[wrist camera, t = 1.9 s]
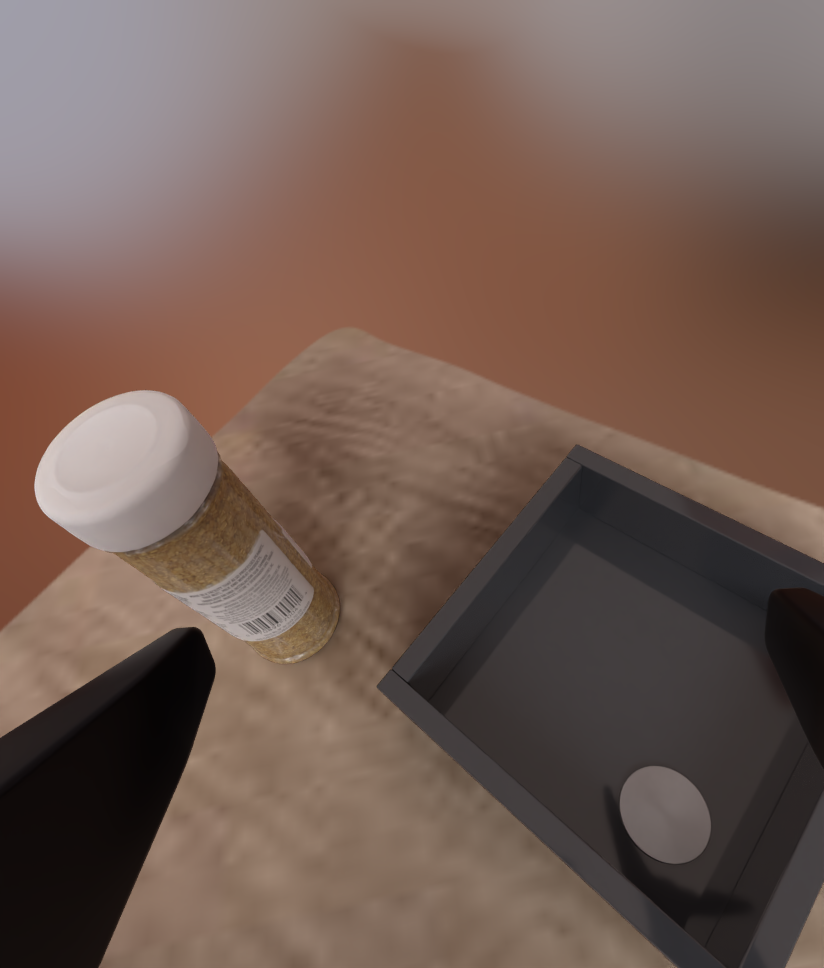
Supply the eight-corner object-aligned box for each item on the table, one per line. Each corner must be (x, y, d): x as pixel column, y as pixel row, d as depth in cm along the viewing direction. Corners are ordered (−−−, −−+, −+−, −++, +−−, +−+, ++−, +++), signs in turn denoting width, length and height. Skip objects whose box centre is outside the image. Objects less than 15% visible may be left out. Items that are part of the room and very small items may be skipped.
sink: (711, 1000, 16) (754, 1039, 13) (401, 711, 22) (375, 686, 19) (876, 658, 20) (943, 620, 16) (572, 495, 26) (576, 443, 23)
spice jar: (329, 560, 27) (179, 362, 16) (353, 644, 24) (191, 475, 13) (243, 595, 27) (32, 420, 16) (257, 684, 24) (16, 547, 13)
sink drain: (683, 886, 17) (685, 887, 17) (602, 818, 18) (603, 817, 18) (725, 808, 18) (727, 808, 18) (645, 748, 19) (645, 747, 19)
